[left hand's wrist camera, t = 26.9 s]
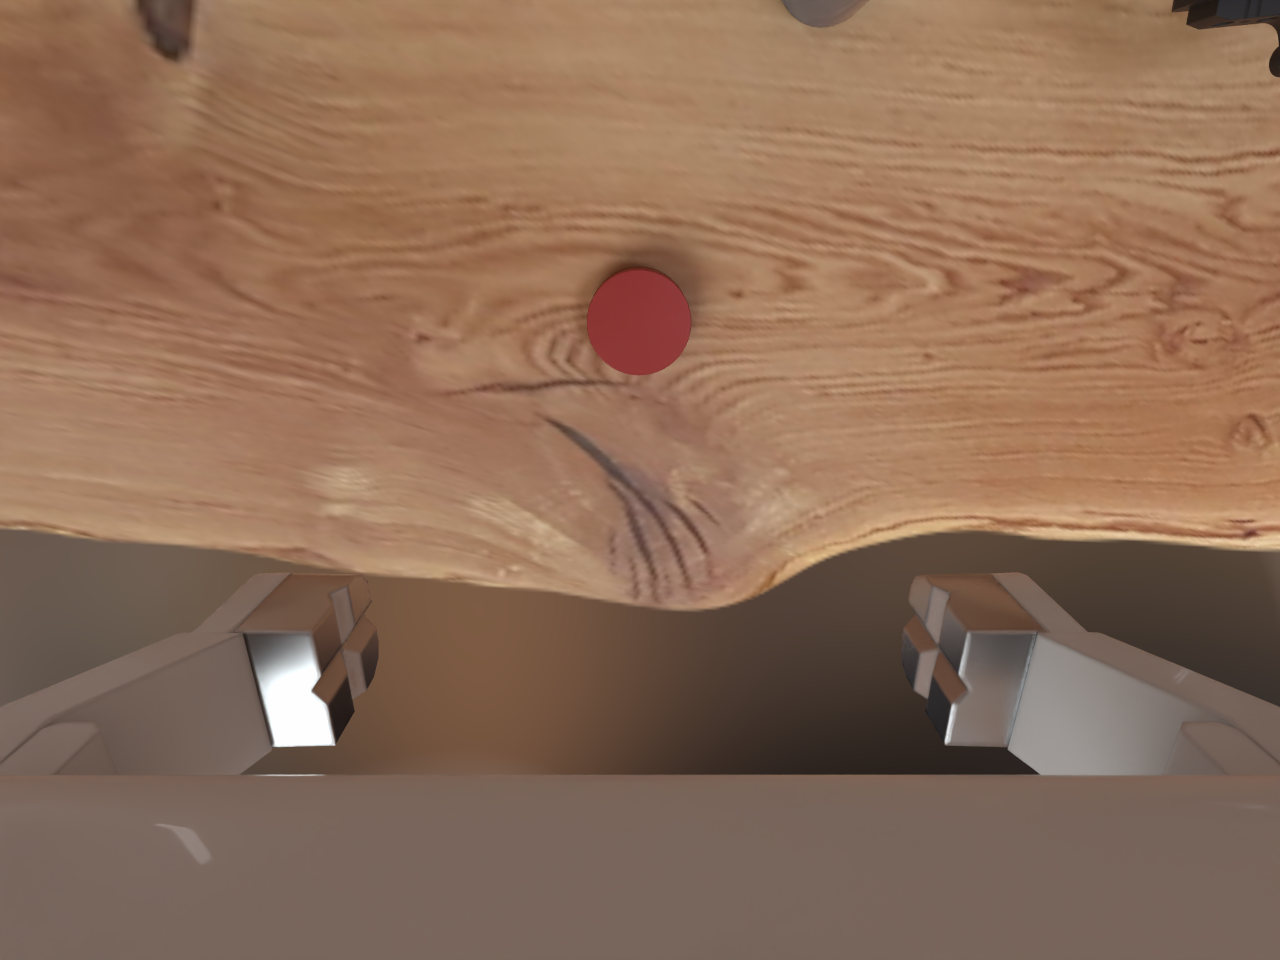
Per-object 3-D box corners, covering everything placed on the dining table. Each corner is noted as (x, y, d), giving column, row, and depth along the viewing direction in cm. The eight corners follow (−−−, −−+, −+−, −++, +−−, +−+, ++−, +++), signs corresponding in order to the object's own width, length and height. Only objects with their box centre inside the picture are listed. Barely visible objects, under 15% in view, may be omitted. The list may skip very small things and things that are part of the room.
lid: (671, 380, 39) (673, 387, 37) (578, 352, 38) (575, 358, 37) (702, 284, 37) (705, 287, 35) (604, 253, 36) (602, 255, 35)
